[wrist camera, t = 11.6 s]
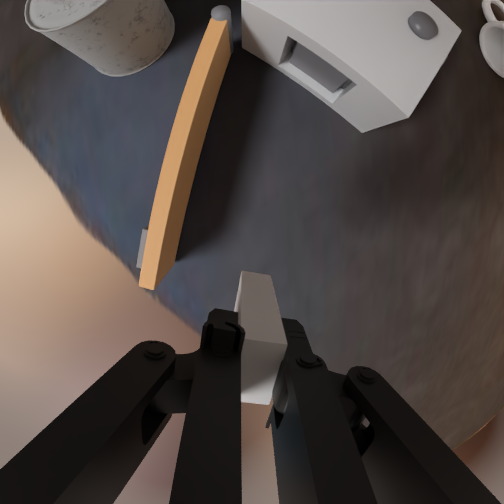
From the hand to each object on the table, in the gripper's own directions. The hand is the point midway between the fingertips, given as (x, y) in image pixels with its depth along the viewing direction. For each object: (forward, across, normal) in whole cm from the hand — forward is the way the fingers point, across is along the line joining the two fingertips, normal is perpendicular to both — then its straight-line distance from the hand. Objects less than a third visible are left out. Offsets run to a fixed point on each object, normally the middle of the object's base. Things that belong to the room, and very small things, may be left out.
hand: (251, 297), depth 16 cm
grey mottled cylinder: (+14, -16, +19) cm, 28 cm away
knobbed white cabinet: (+13, +5, +21) cm, 25 cm away
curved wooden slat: (+13, -7, +8) cm, 16 cm away
